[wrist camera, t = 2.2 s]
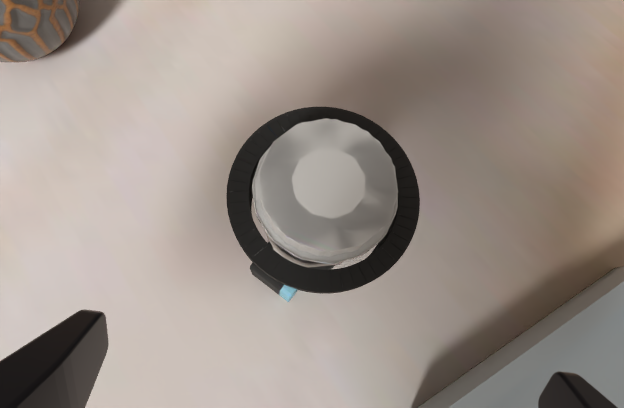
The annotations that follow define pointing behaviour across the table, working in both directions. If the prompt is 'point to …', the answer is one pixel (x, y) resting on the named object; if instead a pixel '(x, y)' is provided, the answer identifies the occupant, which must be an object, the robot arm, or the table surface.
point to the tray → (552, 354)
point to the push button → (322, 200)
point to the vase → (34, 27)
